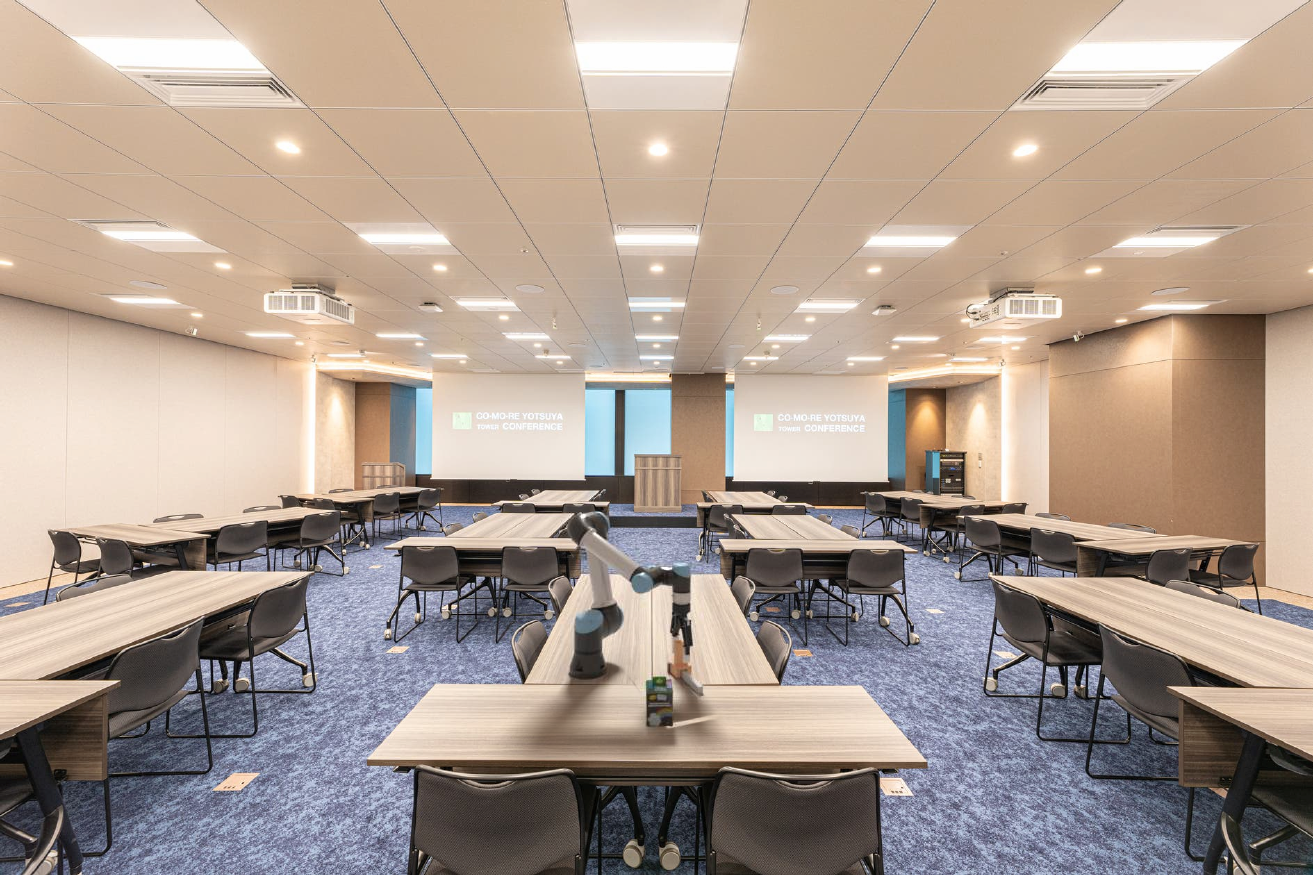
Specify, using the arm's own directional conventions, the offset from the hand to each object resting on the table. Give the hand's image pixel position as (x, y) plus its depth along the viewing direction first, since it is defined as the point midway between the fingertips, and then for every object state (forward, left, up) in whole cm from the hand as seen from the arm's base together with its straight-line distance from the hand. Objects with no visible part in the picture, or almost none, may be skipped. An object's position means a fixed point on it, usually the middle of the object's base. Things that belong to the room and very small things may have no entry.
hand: (680, 657), depth 201 cm
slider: (0, 0, -7) cm, 7 cm away
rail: (+7, 0, -8) cm, 10 cm away
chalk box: (+27, -21, -8) cm, 35 cm away
